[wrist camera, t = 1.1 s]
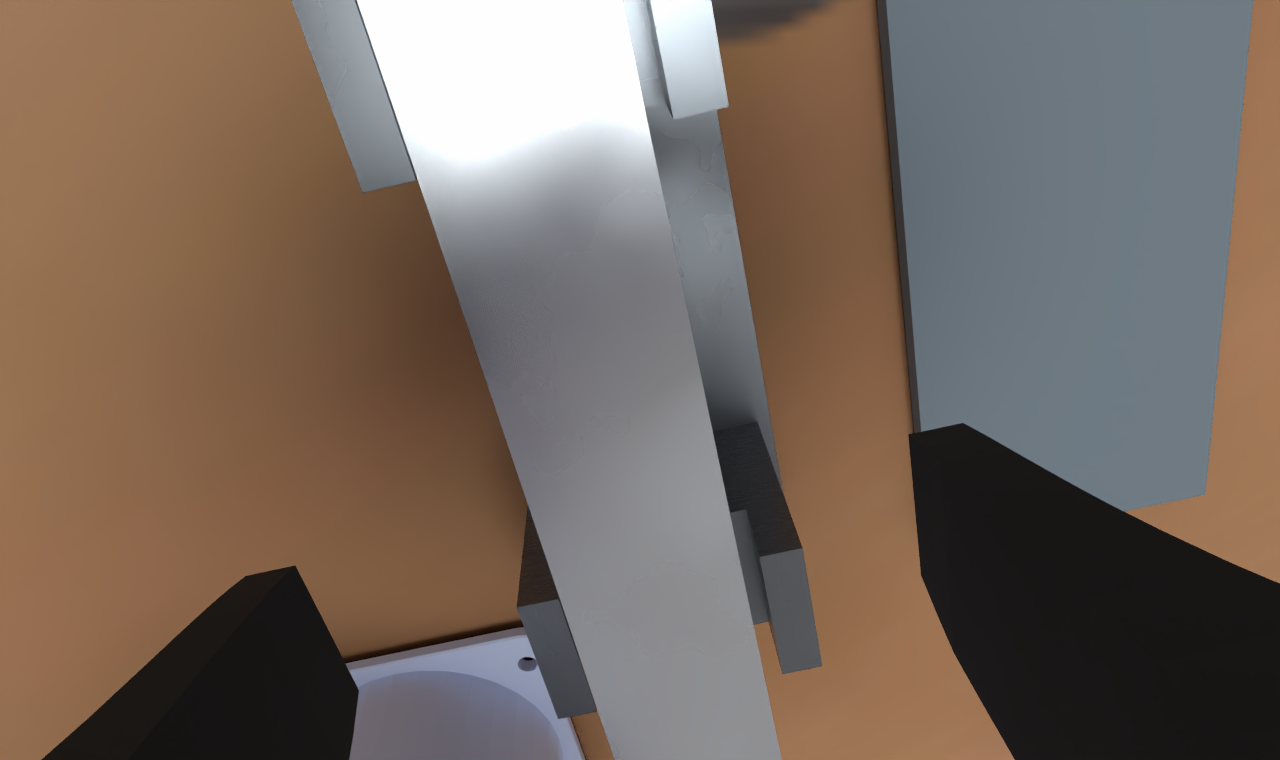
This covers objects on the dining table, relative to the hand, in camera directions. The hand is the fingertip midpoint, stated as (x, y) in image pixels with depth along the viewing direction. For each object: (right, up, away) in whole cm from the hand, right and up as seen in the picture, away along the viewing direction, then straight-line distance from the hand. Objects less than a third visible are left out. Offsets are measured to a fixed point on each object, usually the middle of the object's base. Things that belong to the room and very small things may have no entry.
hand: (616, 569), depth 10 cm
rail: (0, +3, +5) cm, 6 cm away
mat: (+9, +7, +8) cm, 14 cm away
